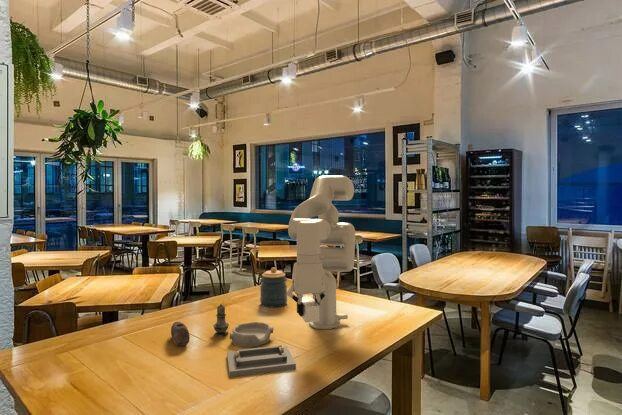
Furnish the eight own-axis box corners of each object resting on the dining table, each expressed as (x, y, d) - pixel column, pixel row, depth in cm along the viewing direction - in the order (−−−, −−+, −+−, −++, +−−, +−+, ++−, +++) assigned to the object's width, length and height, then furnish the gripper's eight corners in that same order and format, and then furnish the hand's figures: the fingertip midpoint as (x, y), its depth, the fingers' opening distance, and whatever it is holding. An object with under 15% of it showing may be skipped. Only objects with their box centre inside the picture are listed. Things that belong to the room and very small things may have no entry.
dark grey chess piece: (225, 337, 145) (225, 305, 144) (210, 336, 146) (210, 304, 146) (231, 332, 151) (231, 301, 150) (217, 330, 152) (217, 300, 151)
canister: (286, 307, 182) (286, 270, 181) (258, 307, 182) (258, 270, 181) (288, 299, 195) (288, 264, 194) (262, 299, 195) (261, 264, 194)
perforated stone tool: (168, 335, 147) (168, 317, 147) (182, 333, 150) (182, 315, 149) (174, 350, 134) (174, 330, 134) (190, 347, 136) (190, 327, 136)
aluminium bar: (310, 310, 134) (310, 296, 134) (319, 321, 123) (319, 305, 123) (297, 311, 133) (297, 297, 132) (305, 322, 122) (305, 306, 122)
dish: (276, 336, 147) (276, 323, 146) (259, 351, 134) (259, 336, 133) (242, 332, 151) (242, 319, 151) (222, 345, 138) (222, 331, 138)
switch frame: (286, 350, 134) (286, 338, 134) (296, 368, 120) (296, 355, 120) (227, 356, 129) (226, 344, 128) (229, 376, 115) (229, 362, 115)
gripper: (329, 255, 133) (329, 309, 134) (280, 258, 128) (280, 313, 129) (336, 259, 126) (336, 315, 127) (285, 262, 121) (285, 320, 122)
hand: (308, 313), depth 128 cm, fingers closed on aluminium bar, 4 cm apart
